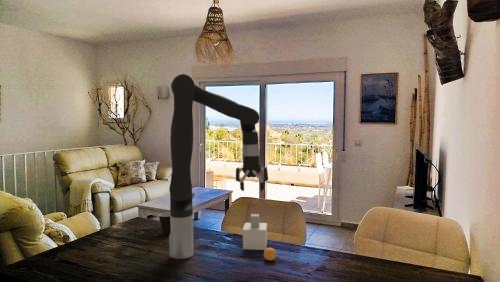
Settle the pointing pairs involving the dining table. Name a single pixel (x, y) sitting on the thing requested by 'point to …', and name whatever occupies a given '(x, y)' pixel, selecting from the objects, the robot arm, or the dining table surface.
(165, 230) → the coffee mug
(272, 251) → the ball
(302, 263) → the dining table surface
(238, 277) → the dining table surface
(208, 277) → the dining table surface
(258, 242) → the cream open-backed crate
